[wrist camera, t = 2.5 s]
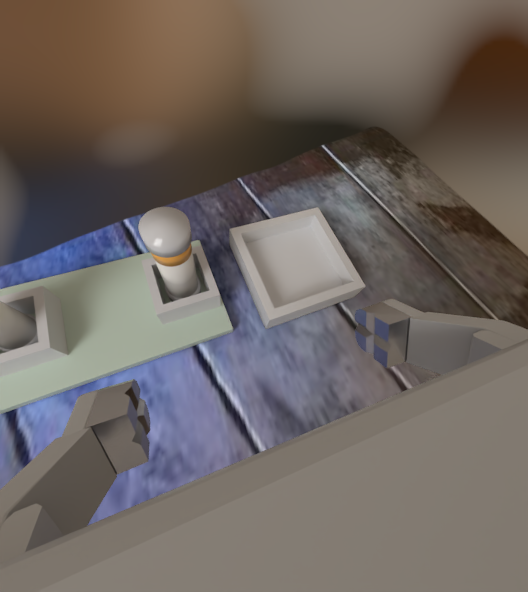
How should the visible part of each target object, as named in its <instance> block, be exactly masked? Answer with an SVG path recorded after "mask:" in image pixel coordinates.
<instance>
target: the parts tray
mask: <svg viewBox="0 0 528 592" xmlns="http://www.w3.org/2000/svg"><path fill="white" fill-rule="evenodd" d="M229 245H230V247H231V249H232V252H233V254H234V256H235V259H236V261H237V263H238V266H239V268H240V270H241V273H242V275H243V278H244V280H245V282H246V285H247V287H248V289H249V292H250V294H251V296H252V299H253V301H254V303H255V306H256V308H257V310H258V313H259V315H260V317H261V320H262V322H263V324H264V327H265V329H268V328H271V327H273V326H276V325H279V324H282V323H284V322H287V321H290V320H293V319H295V318H298V317H301V316H304V315H306V314H309V313H312V312H315V311H317V310H320V309H323V308H326V307H328V306H331V305H334V304H337V303H339V302H342V301H345V300H348V299H350V298H353V297H355V296H356V295H357V294H358V293H359V292H360V291H361V290H362V289H363V288H364V287H365V284H364V283H363V281H362V279H361V278H360V276H359V274H358V273H357V271H356V269H355V268H354V266H353V264H352V263H351V261H350V259H349V258H348V256H347V254H346V253H345V251H344V249H343V248H342V246H341V244H340V243H339V241H338V239H337V238H336V236H335V234H334V233H333V231H332V229H331V228H330V226H329V225H328V223H327V221H326V220H325V218H324V216H323V215H322V213H321V211H320V210H319V208H318V207H317V208H313V209H309V210H305V211H301V212H297V213H293V214H289V215H285V216H281V217H276V218H272V219H268V220H264V221H260V222H256V223H252V224H248V225H244V226H240V227H236V228H232V229H230V234H229Z"/></svg>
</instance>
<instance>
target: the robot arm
mask: <svg viewBox="0 0 528 592" xmlns="http://www.w3.org/2000/svg"><path fill="white" fill-rule="evenodd" d="M355 321H356V322H357V323H358V326H357V328H356V330H355V334H356V340H357V342H358V345H359V346H360V347H361V349H363V350H364V351H365V352H367V353H371V354H373V355H374V359H375V360H377V361H378V362H379V363H381V364H382V365H383V366H385V367H386V368H389V367H392V366H395V365H398V364H400V363H403V362H406V363H409V364H412V365H415V366H418V367H421V368H424V369H427V370H430V371H432V372H435V373H438V374H441V376H439V377H437V378H434V379H432V380H429V381H427V382H425V383H422V384H420V385H418V386H415V387H413V388H411V389H408V390H406V391H403V392H401V393H399V394H396V395H394V396H392V397H389V398H387V399H385V400H382V401H380V402H377V403H375V404H373V405H370V406H368V407H366V408H363V409H361V410H359V411H356V412H354V413H352V414H349V415H347V416H345V417H342V418H340V419H338V420H335V421H333V422H330V423H328V424H326V425H323V426H321V427H319V428H316V429H314V430H312V431H309V432H307V433H305V434H302V435H300V436H298V437H295V438H293V439H291V440H288V441H286V442H284V443H281V444H279V445H277V446H274V447H272V448H270V449H267V450H265V451H263V452H260V453H258V454H255V455H253V456H251V457H248V458H246V459H244V460H241V461H239V462H237V463H234V464H232V465H230V466H227V467H225V468H222V469H220V470H218V471H215V472H213V473H211V474H208V475H206V476H204V477H201V478H199V479H197V480H194V481H192V482H190V483H187V484H185V485H182V486H180V487H178V488H175V489H173V490H171V491H168V492H166V493H164V494H161V495H159V496H157V497H154V498H152V499H150V500H147V501H145V502H142V503H140V504H138V505H135V506H133V507H131V508H128V509H126V510H124V511H121V512H119V513H117V514H114V515H112V516H109V517H107V518H105V519H102V520H100V521H98V522H95V523H93V524H91V525H88V523H89V521H90V520H91V518H92V516H93V515H94V513H95V512H96V510H97V508H98V507H99V505H100V503H101V502H102V500H103V498H104V497H105V495H106V493H107V492H108V490H109V489H110V487H111V485H112V484H113V482H114V480H115V479H116V477H117V474H119V473H122V472H124V471H127V470H129V469H131V468H134V467H136V466H138V465H141V464H143V463H146V462H148V459H149V440H148V438H147V434H148V433H149V431H150V417H149V412H148V408H147V405H146V403H145V400H143V399H141V398H140V388H139V386H138V383H137V381H136V380H134V379H133V380H130V381H126V382H123V383H119V384H116V385H113V386H109V387H106V388H102V389H100V390H95V391H92V392H89V393H86V394H83V395H81V396H79V397H78V399H77V402H76V404H75V406H74V409H73V411H72V414H71V416H70V418H69V421H68V423H67V426H66V428H65V430H64V433H63V435H62V437H60V438H57V439H55V440H54V441H53V442H52V443H51V444H50V445H48V446H47V447H46V448H45V449H44V450H43V451H42V452H41V453H40V454H39V455H38V456H37V457H35V458H34V459H33V460H32V461H31V462H30V463H29V464H28V465H27V466H26V467H25V468H24V469H22V470H21V471H20V472H19V473H18V474H17V475H16V476H15V477H14V478H13V479H12V480H10V481H9V482H8V483H7V484H6V485H5V486H4V487H3V488H2V489H1V490H0V592H528V330H527V329H525V328H522V327H519V326H517V325H514V324H511V323H509V322H506V321H501V320H493V319H484V318H475V317H467V316H458V315H450V314H441V313H433V312H426V313H423V312H421V311H419V310H417V309H414V308H412V307H410V306H408V305H406V304H403V303H401V302H399V301H397V300H394V299H388V300H385V301H382V302H379V303H377V304H374V305H371V306H368V307H365V308H362V309H359V310H357V311H356V314H355ZM87 525H88V526H87Z"/></svg>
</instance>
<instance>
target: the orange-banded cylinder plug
mask: <svg viewBox="0 0 528 592" xmlns="http://www.w3.org/2000/svg"><path fill="white" fill-rule="evenodd" d="M139 232H140V235H141V237H142V239H143V242H144V244H145V246H146V248H147V249H148V250H149V251H150V252H151V255H152V257H153V259H154V260H155V262H156V264H157V267H158V269H159V271H160V274H161V276H162V278H163V281H164V283H165V290H166V293H167V295H168V297H169V299H170V300H171V301H172V302H173V301H176V300H180V299H183V298H186V297H189V296H193V295H196V294H199V293H201V285H200V280H199V278H198V276H197V275H196V269H195V264H194V259H193V254H192V245H191V241H192V235H191V229H190V224H189V220H188V218H187V216H186V215H185V214H184V213H183V212H181V211H180V210H178V209H175V208H171V207H159V208H155V209H152V210H150V211H149V212H147V213H146V214H145V215H144V216H143V217H142V218H141V220H140V222H139Z"/></svg>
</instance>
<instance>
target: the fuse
mask: <svg viewBox="0 0 528 592" xmlns="http://www.w3.org/2000/svg"><path fill="white" fill-rule="evenodd" d="M34 343H38V334H37V324H36V317H34V316H33V315H30V314H25V313H22V312H20V311H18V310H16V309H15V308H13V307H11V306H9V305H7V304H5V303H3V302H2V301H0V350H2V351H5V352H8V351H11V350H15V349H18V348H21V347H25V346H28V345H31V344H34Z"/></svg>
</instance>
